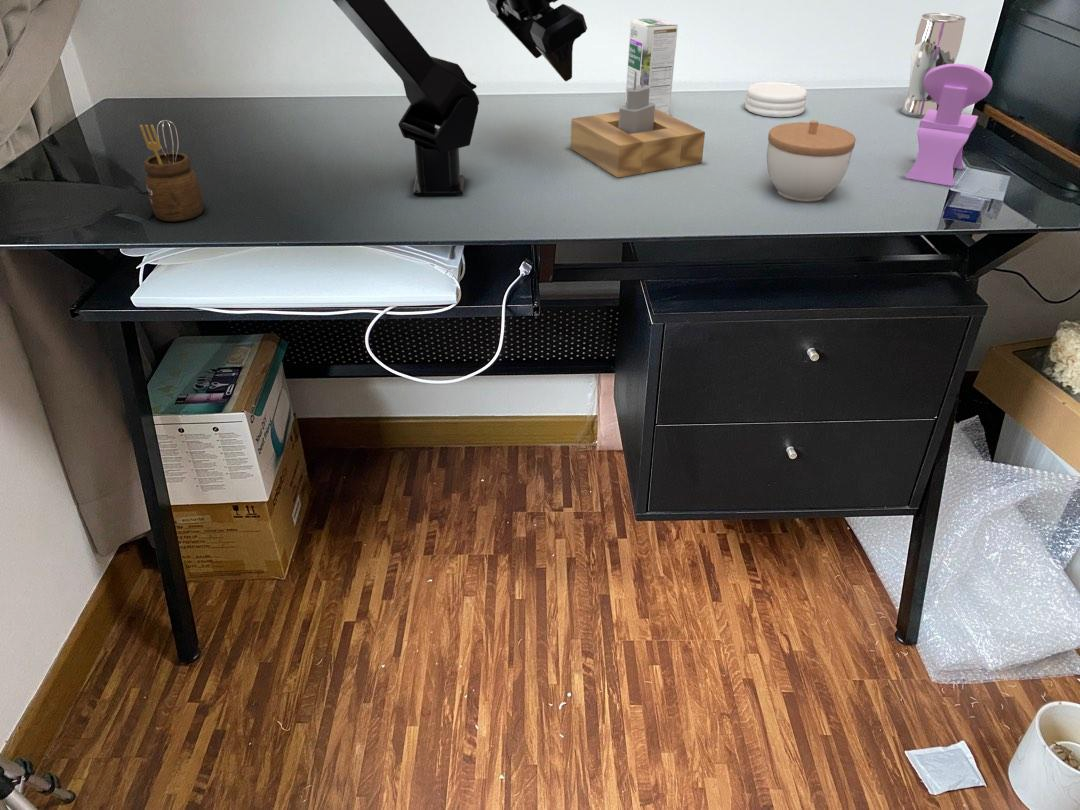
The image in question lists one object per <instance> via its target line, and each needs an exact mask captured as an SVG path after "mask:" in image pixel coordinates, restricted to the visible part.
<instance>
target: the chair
mask: <svg viewBox="0 0 1080 810" xmlns="http://www.w3.org/2000/svg"><path fill="white" fill-rule="evenodd" d="M992 79H993V78H992V77H991V76H990V75H989V74H988V73H986V72H985V71H984V70H982V69H981V68H978V67H976V66H973V65H970V64H964V63H954V64H946V65H941V66H938V67H935V68H933V69H931V70H929V71H928V72H927V73H926V75H925V77H924V82H923V85H924V89H925V90H926V92H927V93H928V94H929V95H930V96H931V98H932V99H934V100H935V101H936V102H937V103H938V105H939V107H938V110H930V109H929V110H928V112H927V113H926V115H925V116H924V117H923V118H920V122H919V124H918V128H917V143H918V151H917V152H918V153H917V157H916V159H915V161H914V163H913V165H912V166H911V168H910V170H909V171H908V172H907V174H906V175H905V177H904V178H905V179H908V180H912V181H913V180H914V181H920V182H926V183H931V184H936V185H943V186H948V187H954V186H955V180H954V169H959V170H963V169H964V163H963V149H964V146H965V145H966V143H967V142H968V140H969V137H970V136H971V133H972V132H973V131H974V129H975V128H976V125H977V121H978V118H979V116H978V115H974V114H962V112H963V110H964V109H966V108H968V107H969V106H972V105H974V104H977V103H978V102H980V101H982V100H983V99H985V98H986V97H987V96H988V95H989V93H990V92H991V90H992V88H993V83H994V81H993V80H992Z"/></svg>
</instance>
